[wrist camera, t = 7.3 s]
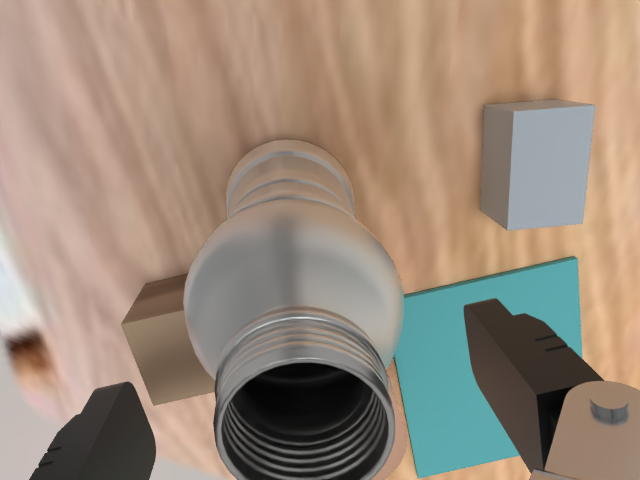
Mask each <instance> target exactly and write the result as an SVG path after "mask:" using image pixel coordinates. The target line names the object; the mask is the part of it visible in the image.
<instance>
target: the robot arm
mask: <svg viewBox="0 0 640 480" xmlns="http://www.w3.org/2000/svg"><path fill="white" fill-rule="evenodd" d="M463 311H464V320H465V327H466V335H467V342H468V349H469V356H470V363H471V367H472V371H473V374H474V377H475V380H476V383H477V385H478V387H479V389H480V390H481V392H482V394H483V395H484V397H485V399H486V400H487V402H488V404H489V405H490V407H491V408H492V410H493V412H494V413H495V415H496V417H497V418H498V420H499V422H500V423H501V425H502V426H503V428H504V430H505V431H506V433H507V435H508V436H509V438H510V440H511V441H512V443H513V445H514V446H515V448H516V449H517V451H518V453H519V454H520V456H521V458H522V459H523V461H524V463H525V464H526V466H527V467H528V469H529V471H530V472H531V476H530V479H529V480H640V391H639V390H637V389H636V388H633V387H631V386H628V385H625V384H622V383H617V382H611V381H604V380H603V379H602V378H601V377H600V376H599V375H598V374H597V373H596V372H595V371H594V370H593V369H592V368H591V367H590V366H589V365H588V364H587V363H586V362H585V361H584V360H583V359H582V358H581V357H580V356H579V355H578V354H577V353H576V352H575V351H574V350H573V349H572V348H571V347H568V345H567V343H566V342H565V341H564V340H562V339H561V338H560V337H558V336H557V334H556V333H555V332H554V331H553V330H552V329H551V328H550V327H549V326H548V325H547V324H546V323H545V322H544V321H542V320H539V319H537V318H535V317H533V316H530V315H528V314H526V313H522V314H518V315H512V314H511V313H510V312H509V311H508V310H507V308H506V307H505V306H504V305H503V304H502V303H501V302H500V301H499V300H498V299H497V298H492V299H488V300H484V301H479V302H475V303H471V304H466V305H464V310H463ZM47 451H48V452H47V453H45V454H44V456H43V458H42V460H41V461H40V463H39V468H36V469H35V471H34V473H33V474H32V476H31V477H30V479H29V480H149V478H150V475H151V471H152V469H153V465H154V462H155V457H156V445H155V438H154V435H153V432H152V429H151V427H150V424H149V422H148V419H147V417H146V414H145V412H144V409H143V407H142V404H141V402H140V399H139V397H138V394H137V392H136V390H135V388H134V386H133V385H132V383H130V382H123V383H119V384H115V385H110V386H106V387H102V388H97V389H95V390H94V392H93V393H92V395H91V397H90V398H89V400H88V402H87V404H86V405H85V407H84V409H83V411H82V412H81V414H79V415H75V416H74V417H73V418H72V419H71V420H70V421H69V422H68V423H67V424H66V425H65V426H64V427H63V428H62V429H61V430H60V431H59V432H58V433H57V435H56V436H55V438H54V440H53V441H52V443H51V444H50V446H49V448H48V450H47Z"/></svg>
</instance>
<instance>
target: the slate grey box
mask: <svg viewBox="0 0 640 480" xmlns="http://www.w3.org/2000/svg"><path fill="white" fill-rule="evenodd" d="M594 113H595V105H592V104H585V103H578V102H571V101H565V100H558V99H550V100H537V101H525V102H512V103H500V104H487V105H484V117H483V145H482V173H481V200H480V210H481V211H482V212H484V213H485V214H486V215H487V216H489V217H490V218H491V219H493V220H494V221H495V222H497V223H498V224H499V225H501V226H502V227H503V228H505V229H506V230H507V231H508V230H519V229H530V228H541V227H552V226H563V225H575V224H583V217H584V207H585V198H586V188H587V179H588V170H589V160H590V151H591V141H592V132H593V122H594Z"/></svg>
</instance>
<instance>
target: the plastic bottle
mask: <svg viewBox="0 0 640 480" xmlns="http://www.w3.org/2000/svg"><path fill="white" fill-rule="evenodd" d="M226 209H227V219H226V220H225V221H224V222H223V223H222V224H221V225H220V226H219V227H218V228H217V229H216V230H215V231H214V232H213V233H212V234H211V235H210V236H209V237H208V239H207V240H206V242H205V243H204V245H203V246H202V248H201V249H200V251H199V252H198V254H197V256H196V257H195V259H194V261H193V262H192V264H191V267H190V270H189V273H188V276H187V279H186V282H185V290H184V300H183V305H184V313H185V320H186V325H187V330H188V334H189V338H190V340H191V343H192V346H193V349H194V351H195V354H196V356H197V357H198V359H199V361H200V362H201V364H202V366H203V367H204V369H205V370H206V371H207V373H208V374H209V375H210V376H211V377H212V378H213V379H214V380H215V387H214V388H215V397H216V407H215V415H214V422H213V424H214V433H215V442H216V447H217V449H218V452H219V455H220V457H221V460H222V461H223V463H224V464H225V466H226V467H227V469H228V470H229V472H230V473H231V474H232V475H233V476H234V477H235V478H236V479H237V480H371V479H372V478H373V477H375V476H376V474H377V473H378V472H379V471H380V470H381V468H382V467H383V466H384V465H385V463H386V461H387V459H388V457H389V455H390V453H391V451H392V448H393V444H394V440H395V424H396V423H395V414H394V409H393V405H392V401H391V398H390V395H389V392H388V380H387V375H386V371H385V370H386V369H387V367H388V366H389V365H390V363H391V360H392V358H393V356H394V354H395V352H396V350H397V348H398V344H399V340H400V336H401V332H402V325H403V318H404V295H403V290H402V284H401V279H400V277H399V274H398V272H397V270H396V267H395V265H394V263H393V260H392V259H391V258H390V256H389V255H388V253H387V252H386V250H385V249H384V248H383V246H382V245H381V243H380V242H379V241H378V240H377V238H376V237H375V236H374V235H373V234H372V233H371V232H370V231H369V230H368V229H367V228H366V227H365V226H364V225H363V224H362V223H361V222H360V221H358V220H357V219H356V218H354V194H353V189H352V185H351V182H350V180H349V178H348V175H347V173H346V172H345V170H344V169H343V167H342V166H341V165H340V163H339V162H338V161H337V160H336V159H335V158H334V157H333V156H332V155H331V154H329V153H328V152H326V151H325V150H323V149H322V148H320V147H318V146H315V145H313V144H311V143H308V142H304V141H299V140H276V141H271V142H267V143H265V144H263V145H260V146H258V147H256V148H254V149H253V150H251V151H250V152H249V153H247V154H246V155H245V156H244V157H243V158H242V159H241V160H240V161H239V162H238V163H237V165H236V167H235V168H234V170H233V172H232V173H231V175H230V178H229V181H228V184H227V190H226Z"/></svg>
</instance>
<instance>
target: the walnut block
mask: <svg viewBox="0 0 640 480" xmlns="http://www.w3.org/2000/svg"><path fill="white" fill-rule="evenodd" d="M187 276H188V274H186V275H181V276H177V277H172V278H168V279H164V280H159V281H155V282H151V283H146V284H145V285H144V287H143V289H142V290H141V292H140V294H139V295H138V297H137V299H136V300H135V302H134V304H133V305H132V307H131V309H130V310H129V312H128V314H127V315H126V317H125V319H124V320H123V322H122V324H121V325H122V328H123V330H124V333H125V336H126V338H127V341H128V343H129V346H130V348H131V351H132V353H133V356H134V358H135V361H136V363H137V366H138V368H139V371H140V373H141V376H142V378H143V381H144V383H145V386H146V388H147V391H148V393H149V396H150V398H151V401H152V403H153V406H154V405H159V404H163V403H168V402H172V401H176V400H181V399H185V398H189V397H194V396H198V395H203V394H207V393H211V392H215V388H214V387H215V380H214V379H213V378H212V377H211V376H210V375H209V374H208V373H207V371H206V370H205V369H204V367H203V366H202V364H201V362H200V361H199V359H198V357H197V356H196V354H195V351H194V349H193V346H192V343H191V340H190V338H189V334H188V330H187V325H186V320H185V313H184V305H183V300H184V290H185V282H186V279H187Z"/></svg>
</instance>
